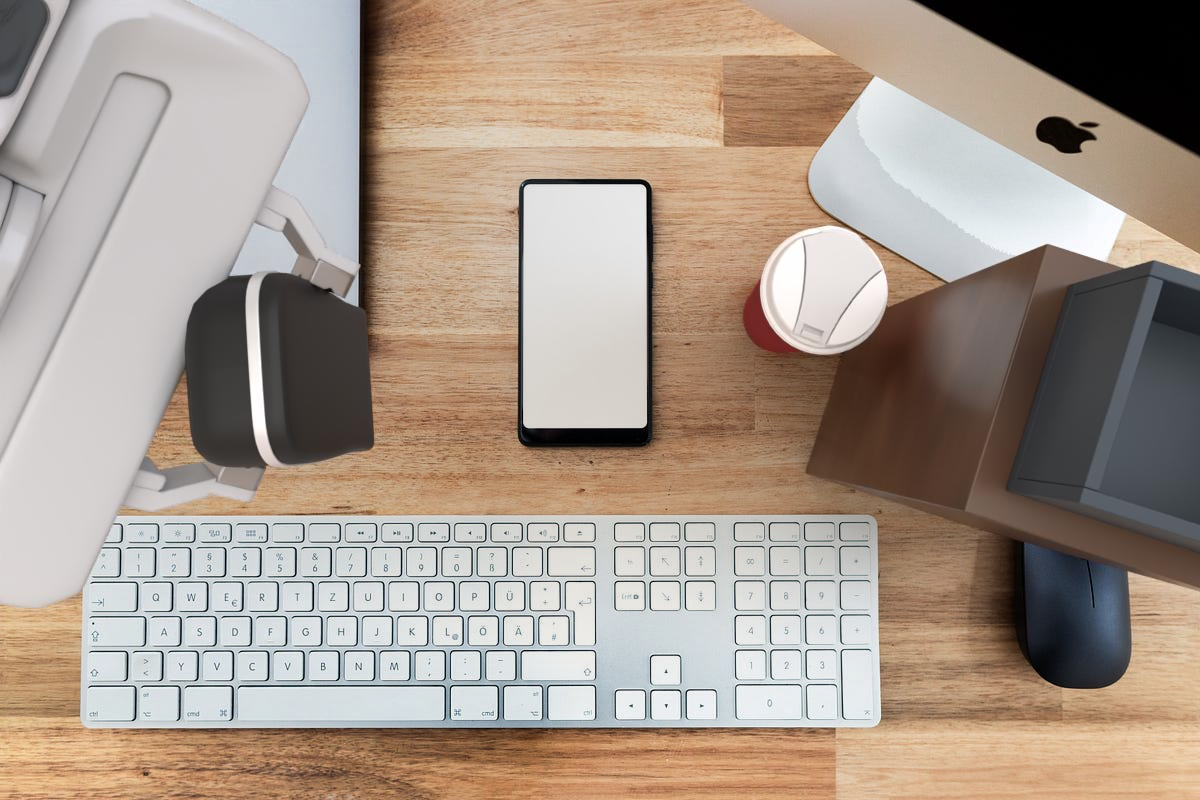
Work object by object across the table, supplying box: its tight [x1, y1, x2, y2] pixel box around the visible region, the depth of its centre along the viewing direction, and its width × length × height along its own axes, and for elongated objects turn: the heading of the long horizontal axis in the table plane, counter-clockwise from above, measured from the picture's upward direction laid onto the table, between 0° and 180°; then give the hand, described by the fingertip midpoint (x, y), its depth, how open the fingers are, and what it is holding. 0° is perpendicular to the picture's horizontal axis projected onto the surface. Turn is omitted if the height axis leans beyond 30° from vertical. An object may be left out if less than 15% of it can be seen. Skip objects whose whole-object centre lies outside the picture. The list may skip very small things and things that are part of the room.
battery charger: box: [185, 270, 375, 468], centre depth 34 cm, size 7×4×11 cm, turn 4°
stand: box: [805, 243, 1200, 593], centre depth 50 cm, size 12×14×28 cm
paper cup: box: [742, 224, 889, 355], centre depth 58 cm, size 8×8×14 cm
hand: (301, 378), depth 34 cm, fingers closed on battery charger, 7 cm apart
